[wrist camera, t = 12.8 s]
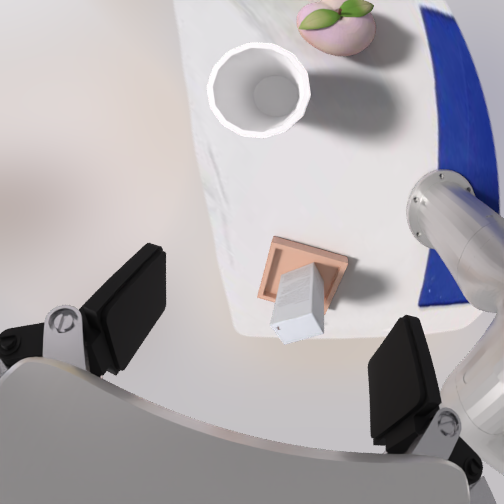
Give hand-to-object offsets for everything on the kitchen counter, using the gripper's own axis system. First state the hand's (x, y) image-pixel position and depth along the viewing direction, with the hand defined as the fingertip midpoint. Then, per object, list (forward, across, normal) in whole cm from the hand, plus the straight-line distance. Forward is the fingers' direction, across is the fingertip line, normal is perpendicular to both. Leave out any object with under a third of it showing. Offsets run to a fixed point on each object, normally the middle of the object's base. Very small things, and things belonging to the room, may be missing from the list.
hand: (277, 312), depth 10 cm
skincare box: (+30, -4, +18) cm, 35 cm away
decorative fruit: (+31, 0, -19) cm, 36 cm away
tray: (+30, -4, +18) cm, 35 cm away
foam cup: (+31, +6, -8) cm, 32 cm away
